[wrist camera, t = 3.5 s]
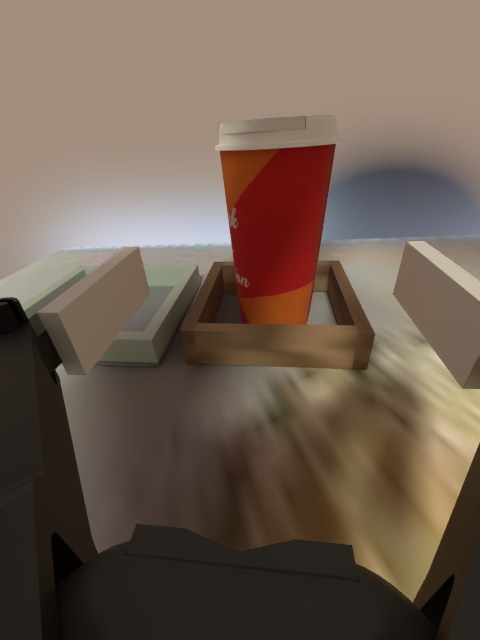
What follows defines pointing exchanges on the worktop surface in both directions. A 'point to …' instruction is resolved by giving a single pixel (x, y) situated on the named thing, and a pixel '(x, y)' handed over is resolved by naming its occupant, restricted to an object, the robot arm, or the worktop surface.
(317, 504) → the worktop surface
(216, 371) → the worktop surface
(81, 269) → the green square tray
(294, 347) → the walnut tray
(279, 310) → the coffee cup
